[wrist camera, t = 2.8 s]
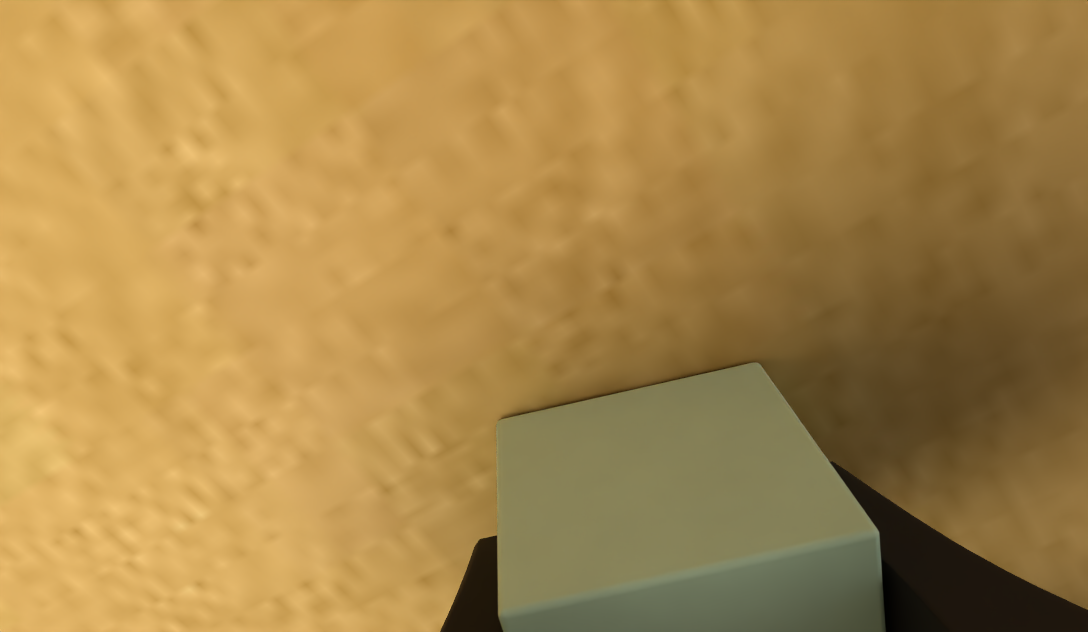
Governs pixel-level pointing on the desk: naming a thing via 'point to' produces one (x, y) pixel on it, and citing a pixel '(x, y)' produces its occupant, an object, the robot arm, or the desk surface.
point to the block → (680, 516)
